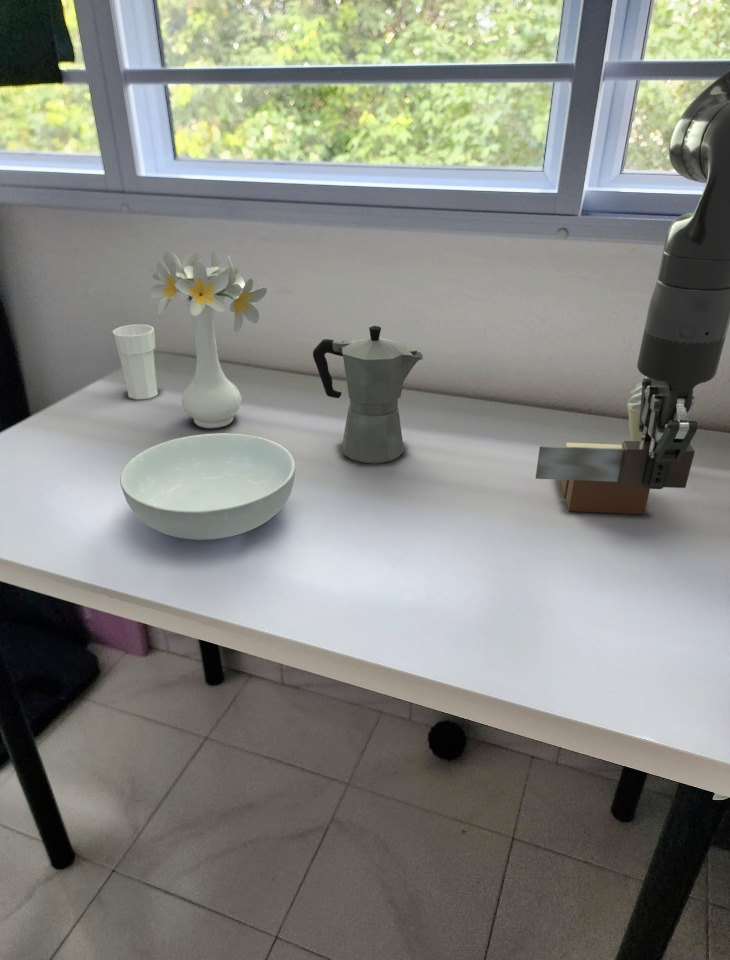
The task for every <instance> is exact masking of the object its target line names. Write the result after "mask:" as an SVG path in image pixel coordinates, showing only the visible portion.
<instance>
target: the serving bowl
mask: <svg viewBox="0 0 730 960" xmlns="http://www.w3.org/2000/svg"><path fill="white" fill-rule="evenodd" d="M295 476H296V461H295V458H294V456H293V455H292V453H290V451H289V450H288V449H287V448H286V447H284V446H282V445H281V444H279V443H277V442H275V441H273V440H271V439H267V438H265V437H260V436H256V435H249V434H242V433H230V432H229V433H227V432H226V433H223V432H221V433H205V434H203V433H202V434H195V435H194V434H193V435H189V436H182V437H179V438H173V439H171V440H166V441H164V442H161V443H158V444H156V445H153V446H151V447H148V448H147V449H145V450H143V451H141V452H140V453H138V454H137V455H135V456H133V457H132V458H131V459H130V460H129V461H128V462H127V463H126V464H125V466H124V467H123V469H122V470H121V473H120V476H119V484H120V487H121V491H122V493H123V496H124V498H125V501H126V503H127V505H128V507H129V508H130V510H131V511H132V513H134V515H135V516H136V517H137V518H138V519H139V520H140V521H141V522H142V523H144V524H145V525H147V526H148V527H149V528H151V529H153V530H155V531H157V532H159V533H161V534H164V535H166V536H170V537H174V538H178V539H184V540H193V541H195V540H196V541H203V540H204V541H205V540H206V541H207V540H208V541H209V540H219V539H226V538H230V537H234V536H238V535H241V534H244V533H246V532H247V533H248V532H250V531H252V530H254V529H256V528H258V527H260V526H262V525H263V524H265V523H267V522H268V521H270V520H271V519H272V518H273V517H274V516H276V515H277V513H278V512H280V510H281V509H282V508H283V507H284V506H285V504H286V502H287V501H288V499H289V497H290V495H291V493H292V490H293V486H294V483H295Z"/></svg>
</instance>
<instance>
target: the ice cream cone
mask: <svg viewBox="0 0 730 960" xmlns="http://www.w3.org/2000/svg"><path fill="white" fill-rule="evenodd" d="M644 378H648V377H646V376H644V375H643V374H642V380H643V379H644ZM634 387H635V389H632V390H630V396H631V397H630V398H629V399H628V400H627V401H628V402H627V403H626V407H627V414H628V426H629V437H630V438H629V439H630V441H641V436H642V433H643V432H640V431H639V421H640V408H641V395H642V381H641V382H639V383H637V384H636V385H634Z"/></svg>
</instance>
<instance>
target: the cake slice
mask: <svg viewBox="0 0 730 960" xmlns="http://www.w3.org/2000/svg"><path fill="white" fill-rule="evenodd" d="M650 491H651V489H646V488H645V487H643V486H620V485H619V483H618V482H611V481H584V480H569V484H568V490H567V495H566V498H565V505H566V507H567V511H568V512H577V513H578V512H580V513H581V512H583V513H603V514H625V515H645V511H646V507H647V504H648V499H649V496H650V495H649V494H650Z"/></svg>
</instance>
